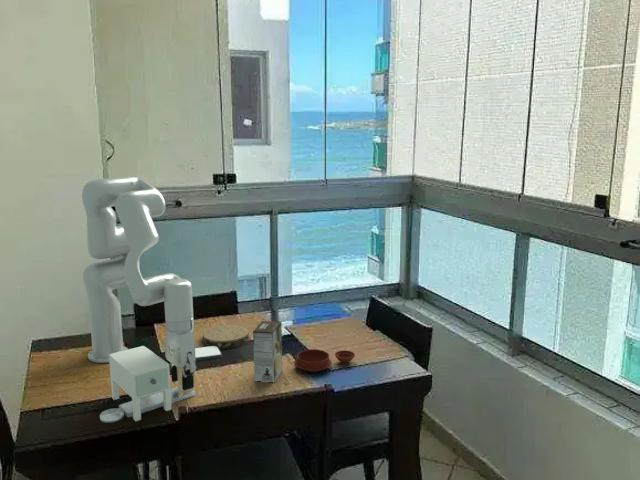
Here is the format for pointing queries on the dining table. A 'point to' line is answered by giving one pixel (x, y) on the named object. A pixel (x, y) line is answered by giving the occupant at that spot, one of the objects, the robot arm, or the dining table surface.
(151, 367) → the low cabinet
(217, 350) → the phone case
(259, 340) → the coffee box
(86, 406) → the dining table surface
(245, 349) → the dining table surface
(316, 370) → the pottery
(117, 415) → the steel disc
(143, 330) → the dining table surface
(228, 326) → the tan round flat disc
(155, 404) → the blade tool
